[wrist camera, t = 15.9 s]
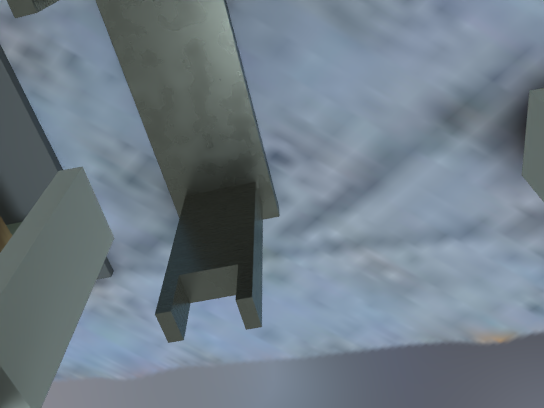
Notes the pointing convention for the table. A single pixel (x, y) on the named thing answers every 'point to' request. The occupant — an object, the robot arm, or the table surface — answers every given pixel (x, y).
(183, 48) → the grey notched post stand
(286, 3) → the table surface
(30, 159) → the plate with green blocks
